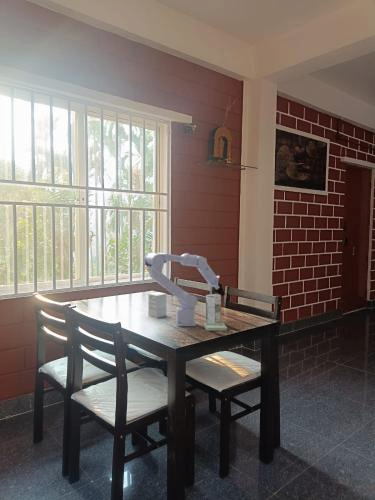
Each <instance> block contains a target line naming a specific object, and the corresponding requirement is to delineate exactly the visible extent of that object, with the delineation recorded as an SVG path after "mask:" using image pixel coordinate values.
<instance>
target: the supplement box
mask: <svg viewBox="0 0 375 500" xmlns="http://www.w3.org/2000/svg"><path fill="white" fill-rule="evenodd" d="M147 298H148V301H147V302H148V303H147V304H148V310H147V311H148V317H152V318H155V319H158V318H159V319H160V318H162V317H166V316H167V293H164V292H159V291H156V292H150V293H148V297H147Z"/></svg>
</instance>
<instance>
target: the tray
mask: <svg viewBox="0 0 375 500" xmlns="http://www.w3.org/2000/svg"><path fill="white" fill-rule="evenodd" d="M203 327H204V329H205V330H206V332H207V331H208V332H211V331H213V332H215V331H216V332H217V331H224V332H225V331H228V327H227V325H226V324H225V323H224V322H218V323H207V322H203Z"/></svg>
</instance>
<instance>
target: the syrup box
mask: <svg viewBox="0 0 375 500" xmlns="http://www.w3.org/2000/svg"><path fill="white" fill-rule="evenodd" d="M221 298H222V296H221V295H219V294H218V293H211V294H205V316H206V317H205V321H206V322H205V323H222V299H221Z"/></svg>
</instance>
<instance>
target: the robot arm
mask: <svg viewBox="0 0 375 500" xmlns="http://www.w3.org/2000/svg"><path fill="white" fill-rule="evenodd" d="M168 262H174V263H175V262H177V263H180V265H182V266H187V267H194V268H195V267H196V269H197V270H198V272H199V273H200V274H201V276H202V277H203V278H204V280H205V281H206V282H207V284H208V286H211V287H212V288H211V290H212V292H215V293H216V294H219V295H221V297H223V296H225V295H226V292H225V291H224V289H223V284H222V283H220V282H219V281H220V280H219V279H220V278H221V277H220V275H219V274H218V275H216V273H215V272H214V271H213V270H212V268H211V267H210V265H209V264H208V261H207V258H206V257H204V256H200V255H197V254H190V253H188V252H185V253H183V254H181V255H178V254H171V253H165V252H155V253H154V252H148V253H146V255H145V256H144V265H145V267H146V268H147V271H148V274H149V276H150V278H151V279H152V280H153V281H155V283H157V284H159V285H160V286H161V287H163V289H165V290H166V291H168V292H169V293H170V294H171V295H173V296H174V297H175V299H177V301H178V303H179V304H180V306H179V307H176V312H175V313H176V314H175V315H176V318H175V322H176V326H177V327H196V326H197V324H196V321H195V317H196V315H195V314H196V310H195V309H196V307H197V305H198V302H199V299H198V297H197V296H195V295H193V294H190V293H189V292H187V291H185V290H183V289H182V288H181V287H179V285H177V284H176V283H175V282H174V281H173V280H171V279H170V278H168V277H167V276H166V275H165V274H164V273H163V268H164V265H165V264H167V263H168Z"/></svg>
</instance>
